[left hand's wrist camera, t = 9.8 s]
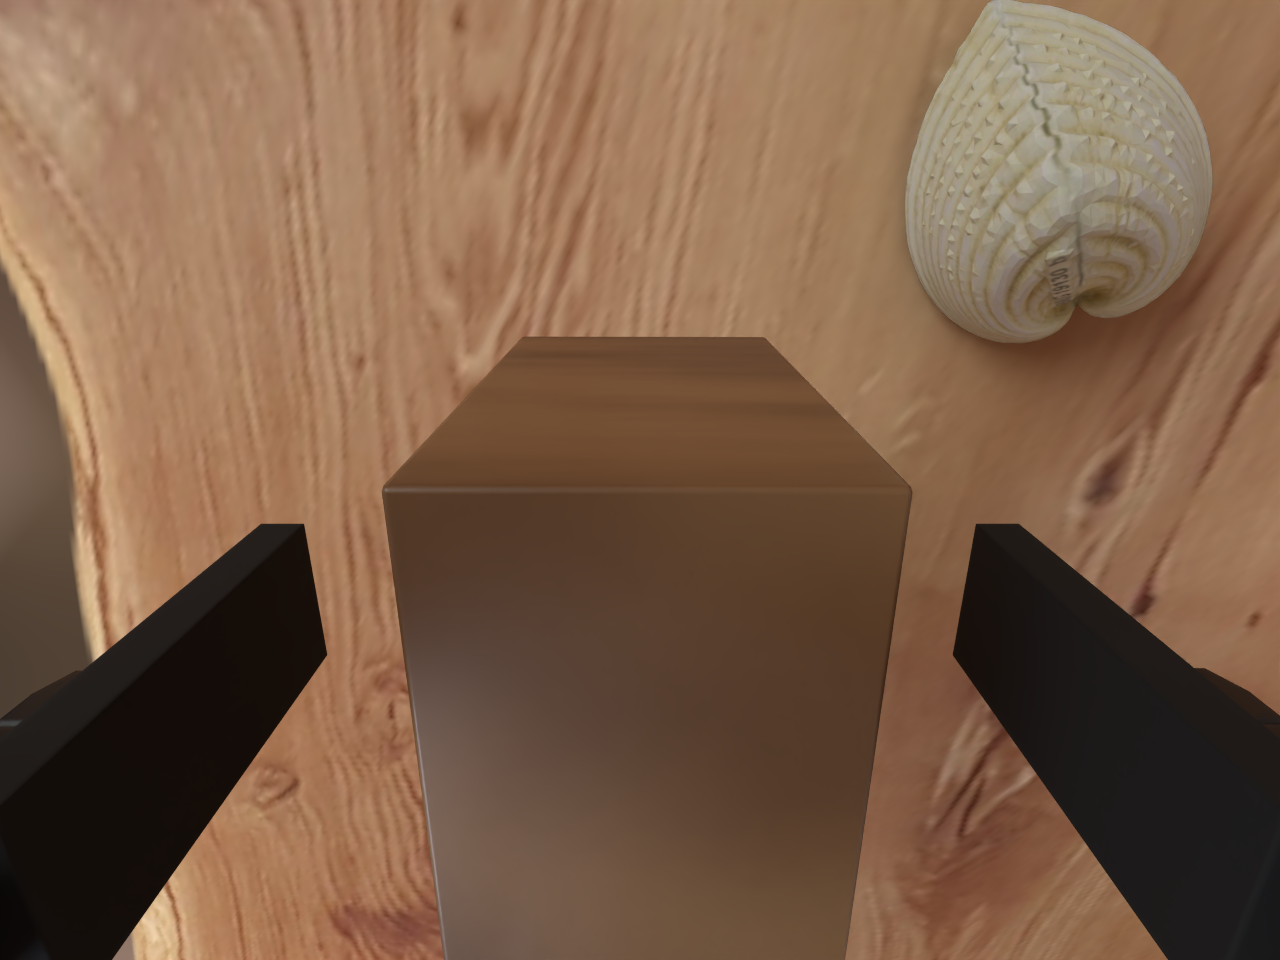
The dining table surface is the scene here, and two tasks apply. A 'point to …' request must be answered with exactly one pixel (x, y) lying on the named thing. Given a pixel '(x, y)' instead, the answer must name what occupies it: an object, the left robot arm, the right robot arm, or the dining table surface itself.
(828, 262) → the dining table surface
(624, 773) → the bar
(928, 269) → the seashell
